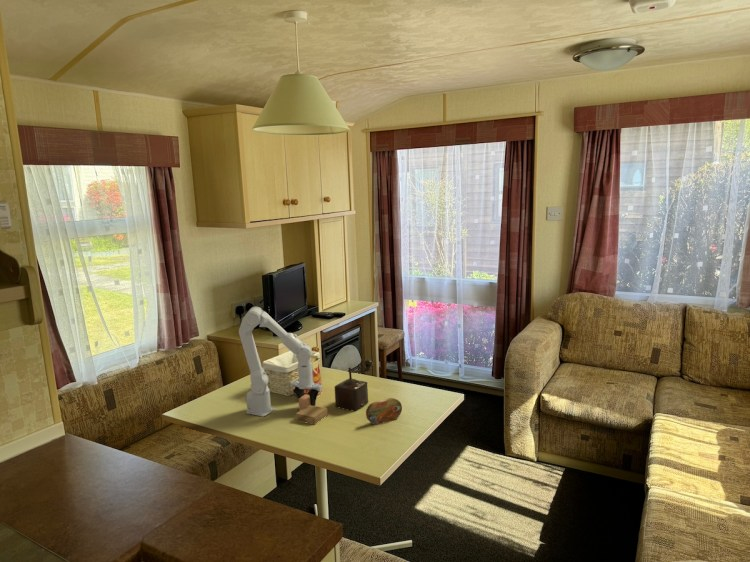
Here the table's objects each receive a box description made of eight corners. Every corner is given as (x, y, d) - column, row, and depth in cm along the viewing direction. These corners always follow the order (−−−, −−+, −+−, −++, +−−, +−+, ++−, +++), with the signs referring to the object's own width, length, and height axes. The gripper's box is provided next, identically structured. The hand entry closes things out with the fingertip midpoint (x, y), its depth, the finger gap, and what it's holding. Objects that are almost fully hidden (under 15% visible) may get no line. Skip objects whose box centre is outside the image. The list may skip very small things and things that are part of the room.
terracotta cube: (299, 410, 216) (298, 398, 215) (306, 405, 220) (305, 394, 220) (309, 411, 214) (308, 400, 213) (316, 407, 218) (315, 396, 217)
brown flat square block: (296, 420, 206) (295, 413, 205) (309, 411, 214) (308, 405, 213) (314, 424, 202) (314, 417, 201) (327, 415, 210) (327, 408, 209)
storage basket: (288, 398, 229) (286, 366, 227) (262, 392, 238) (260, 361, 236) (323, 381, 249) (321, 351, 246) (298, 375, 258) (296, 347, 255)
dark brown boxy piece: (356, 412, 212) (354, 370, 209) (334, 407, 217) (332, 366, 214) (376, 398, 224) (374, 358, 221) (355, 394, 230) (353, 355, 227)
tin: (368, 426, 198) (367, 406, 196) (365, 423, 201) (364, 403, 199) (402, 417, 205) (402, 397, 203) (398, 414, 207) (398, 395, 206)
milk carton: (297, 398, 229) (294, 354, 226) (307, 390, 238) (304, 348, 234) (315, 400, 226) (312, 356, 222) (325, 392, 234) (322, 350, 231)
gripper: (285, 375, 214) (287, 406, 216) (315, 379, 208) (317, 411, 210) (295, 369, 220) (297, 399, 223) (324, 373, 214) (326, 404, 216)
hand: (307, 404), depth 217 cm, fingers closed on terracotta cube, 5 cm apart
